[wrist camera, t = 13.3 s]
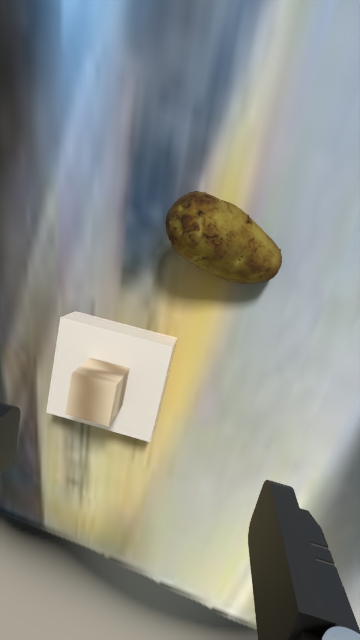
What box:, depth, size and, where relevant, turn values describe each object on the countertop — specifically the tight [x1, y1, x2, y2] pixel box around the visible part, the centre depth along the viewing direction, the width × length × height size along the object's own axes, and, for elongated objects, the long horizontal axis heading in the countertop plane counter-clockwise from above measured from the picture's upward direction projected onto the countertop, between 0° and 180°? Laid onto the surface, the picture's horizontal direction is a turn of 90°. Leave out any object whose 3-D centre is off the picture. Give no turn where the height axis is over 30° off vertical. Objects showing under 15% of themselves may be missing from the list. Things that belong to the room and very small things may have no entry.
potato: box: [166, 191, 282, 283], centre depth 33 cm, size 8×13×8 cm, turn 43°
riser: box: [46, 311, 177, 442], centre depth 40 cm, size 14×13×4 cm
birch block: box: [66, 358, 130, 426], centre depth 36 cm, size 5×5×5 cm
